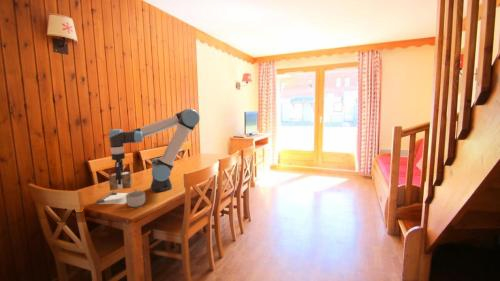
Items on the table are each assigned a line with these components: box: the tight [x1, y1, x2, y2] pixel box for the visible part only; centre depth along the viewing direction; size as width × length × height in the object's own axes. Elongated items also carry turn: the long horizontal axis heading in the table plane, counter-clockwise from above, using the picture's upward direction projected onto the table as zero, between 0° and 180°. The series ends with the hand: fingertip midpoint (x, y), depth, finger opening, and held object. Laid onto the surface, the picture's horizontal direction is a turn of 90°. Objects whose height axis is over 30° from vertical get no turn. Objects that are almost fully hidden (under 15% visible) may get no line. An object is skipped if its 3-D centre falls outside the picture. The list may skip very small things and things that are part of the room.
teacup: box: [126, 190, 146, 208], centre depth 157 cm, size 14×11×8 cm
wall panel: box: [94, 190, 128, 205], centre depth 168 cm, size 18×20×2 cm
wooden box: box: [108, 171, 133, 191], centre depth 167 cm, size 12×8×9 cm, turn 109°
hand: (121, 186), depth 167 cm, fingers closed on wooden box, 8 cm apart
